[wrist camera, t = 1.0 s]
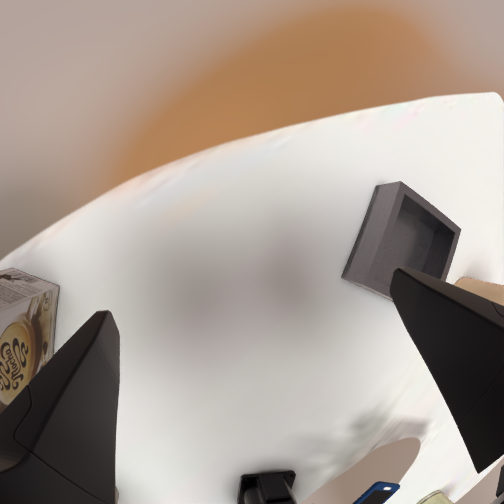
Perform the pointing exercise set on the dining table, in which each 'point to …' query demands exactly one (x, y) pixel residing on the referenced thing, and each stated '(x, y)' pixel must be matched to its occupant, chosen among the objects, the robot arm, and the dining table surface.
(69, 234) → the dining table surface
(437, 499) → the coffee can
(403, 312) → the robot arm
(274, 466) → the dining table surface
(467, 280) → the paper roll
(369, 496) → the cell phone
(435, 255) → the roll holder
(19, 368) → the coffee box
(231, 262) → the dining table surface
